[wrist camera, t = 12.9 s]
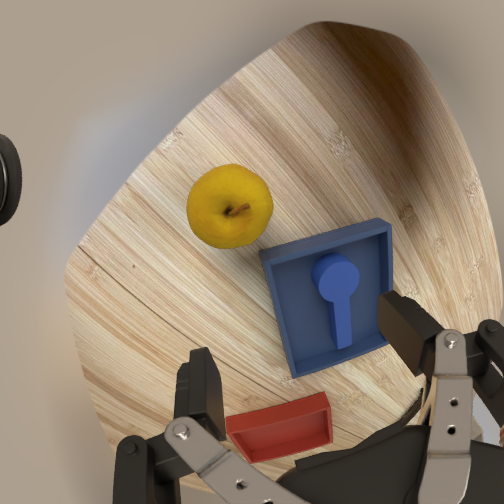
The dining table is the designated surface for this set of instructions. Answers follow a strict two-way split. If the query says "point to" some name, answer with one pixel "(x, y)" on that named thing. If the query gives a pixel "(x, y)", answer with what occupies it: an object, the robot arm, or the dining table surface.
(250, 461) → the red tray
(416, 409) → the knife
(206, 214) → the apple
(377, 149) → the dining table surface
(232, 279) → the dining table surface
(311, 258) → the blue tray
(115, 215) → the dining table surface
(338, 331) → the spoon
